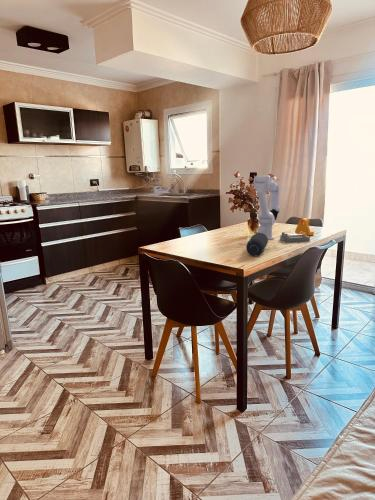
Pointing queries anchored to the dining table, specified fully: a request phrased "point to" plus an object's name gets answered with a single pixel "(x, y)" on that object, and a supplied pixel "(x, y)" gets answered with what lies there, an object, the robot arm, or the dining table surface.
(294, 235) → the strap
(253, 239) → the portable speaker
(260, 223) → the robot arm
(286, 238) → the base block
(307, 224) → the orange animal figurine
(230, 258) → the dining table surface
